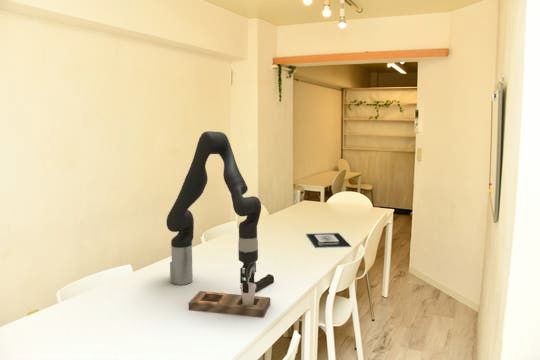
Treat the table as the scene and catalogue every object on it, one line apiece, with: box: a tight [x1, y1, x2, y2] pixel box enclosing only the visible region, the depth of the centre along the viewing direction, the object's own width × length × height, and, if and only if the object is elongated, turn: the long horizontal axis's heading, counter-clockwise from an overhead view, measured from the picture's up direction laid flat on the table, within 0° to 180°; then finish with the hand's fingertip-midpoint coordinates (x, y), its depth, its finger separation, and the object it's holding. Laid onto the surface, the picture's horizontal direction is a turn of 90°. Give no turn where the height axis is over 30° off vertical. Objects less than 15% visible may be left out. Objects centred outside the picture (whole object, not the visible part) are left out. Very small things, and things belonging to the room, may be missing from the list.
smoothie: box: [239, 283, 256, 306], centre depth 174 cm, size 6×6×14 cm
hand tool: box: [254, 274, 275, 294], centre depth 196 cm, size 19×4×5 cm, turn 147°
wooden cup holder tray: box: [188, 290, 271, 318], centre depth 176 cm, size 30×12×3 cm, turn 77°
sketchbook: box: [305, 232, 352, 249], centre depth 275 cm, size 22×30×2 cm
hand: (248, 288), depth 174 cm, fingers open, 8 cm apart
